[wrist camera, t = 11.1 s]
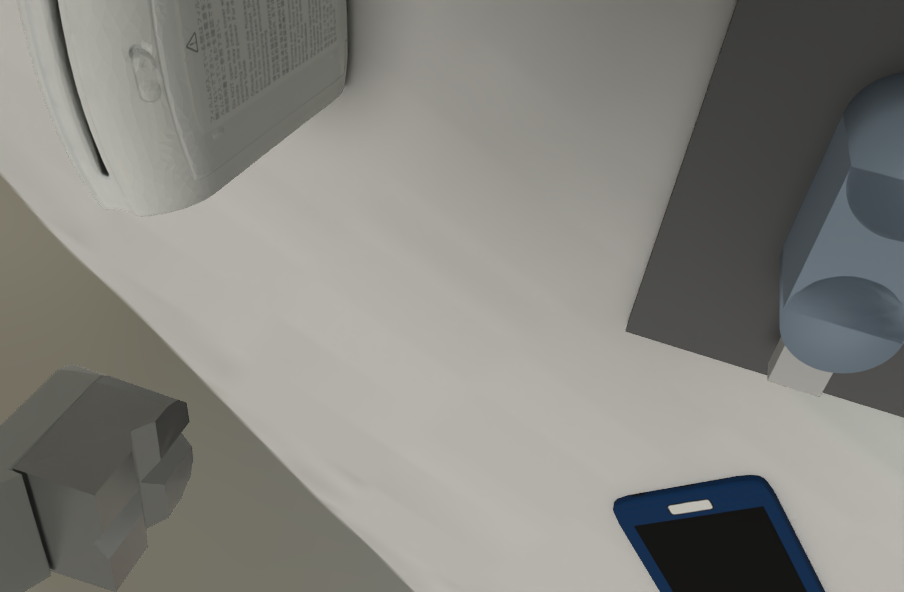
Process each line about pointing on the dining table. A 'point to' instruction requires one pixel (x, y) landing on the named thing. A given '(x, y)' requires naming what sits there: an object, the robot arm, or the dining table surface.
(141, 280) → the dining table surface
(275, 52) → the photo printer
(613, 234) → the dining table surface
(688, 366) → the dining table surface
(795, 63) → the rubber mat
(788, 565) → the cell phone
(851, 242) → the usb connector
